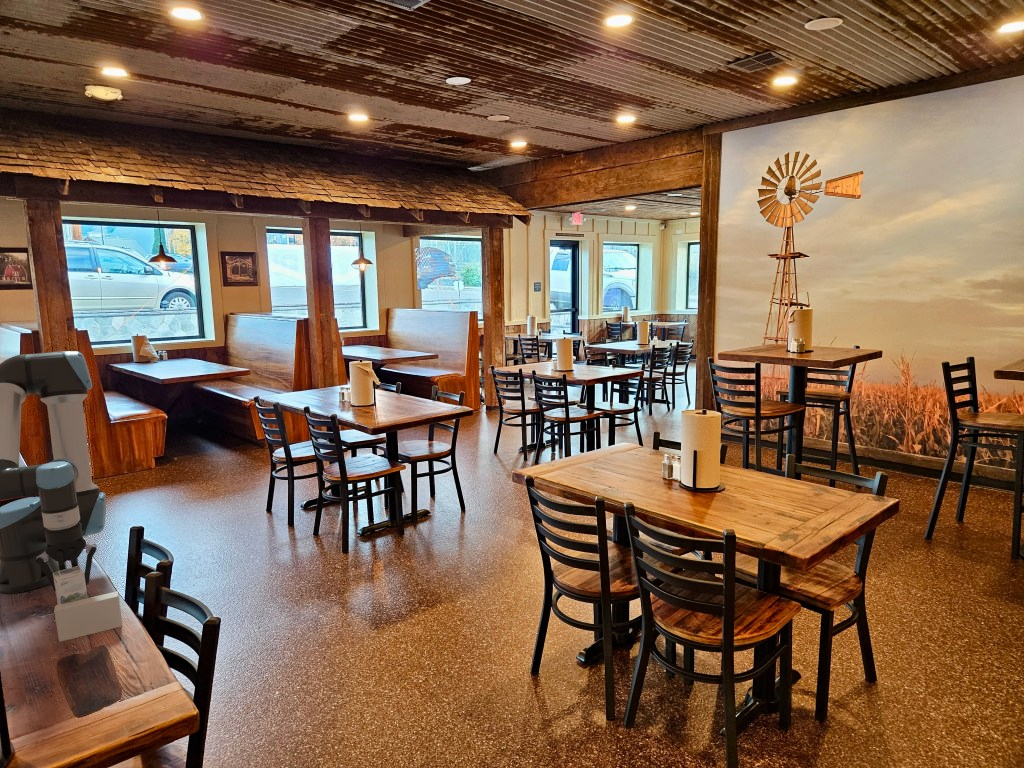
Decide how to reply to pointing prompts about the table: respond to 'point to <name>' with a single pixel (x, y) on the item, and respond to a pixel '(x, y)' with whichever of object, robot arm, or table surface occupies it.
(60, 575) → the syrup box
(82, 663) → the wooden tablet
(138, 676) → the table surface
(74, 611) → the board
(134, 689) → the table surface
